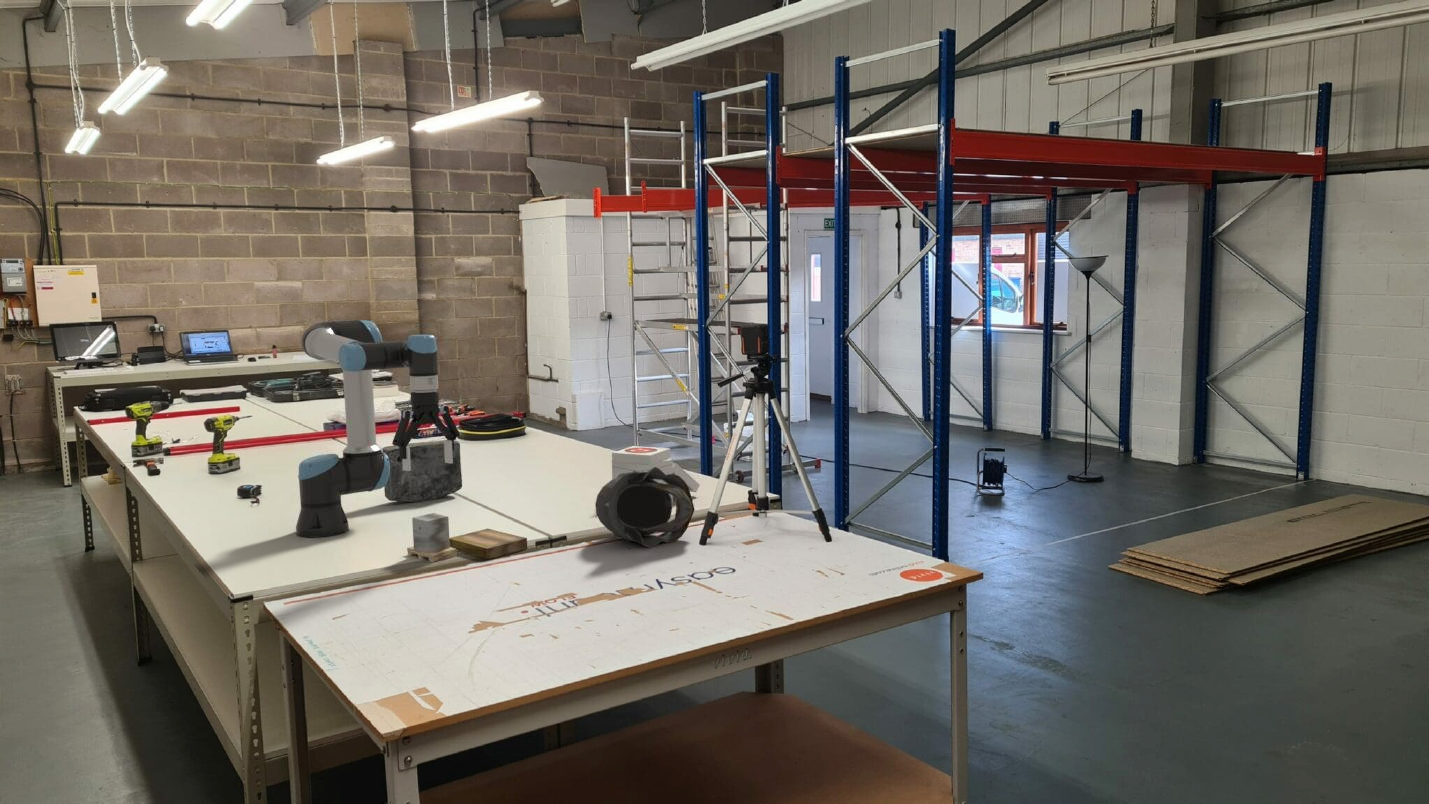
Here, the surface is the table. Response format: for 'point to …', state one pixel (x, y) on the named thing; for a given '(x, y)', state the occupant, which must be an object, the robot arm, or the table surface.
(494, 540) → the dock
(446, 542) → the block
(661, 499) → the helmet
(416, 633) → the table surface
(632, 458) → the pizza boxes
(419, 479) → the concrete block
